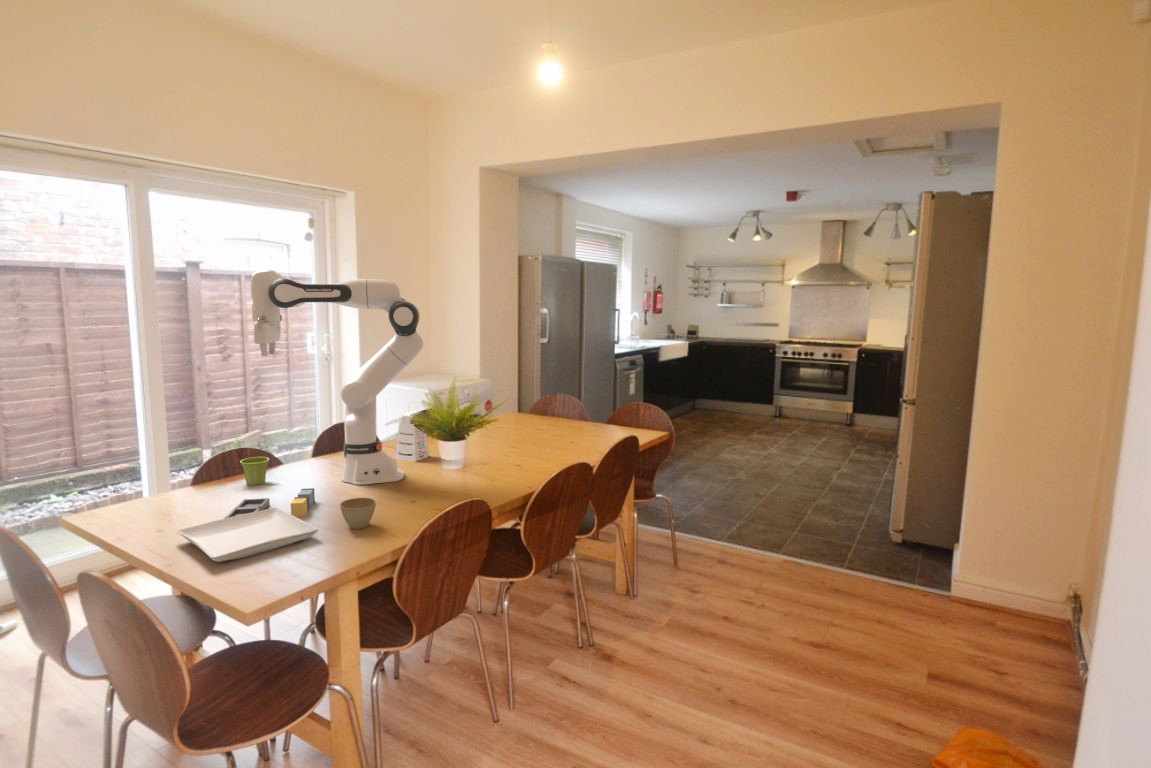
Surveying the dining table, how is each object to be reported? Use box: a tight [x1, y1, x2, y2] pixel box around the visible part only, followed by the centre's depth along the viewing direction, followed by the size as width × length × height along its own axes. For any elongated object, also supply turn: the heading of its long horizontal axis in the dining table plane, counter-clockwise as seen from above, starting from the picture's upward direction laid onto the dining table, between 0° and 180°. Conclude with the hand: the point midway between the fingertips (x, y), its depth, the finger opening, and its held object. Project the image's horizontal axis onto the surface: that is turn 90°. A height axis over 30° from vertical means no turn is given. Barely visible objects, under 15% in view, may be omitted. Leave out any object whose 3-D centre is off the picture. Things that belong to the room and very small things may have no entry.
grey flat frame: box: [223, 497, 270, 519], centre depth 187 cm, size 8×18×2 cm, turn 12°
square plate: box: [176, 507, 319, 563], centre depth 166 cm, size 27×27×4 cm
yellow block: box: [290, 496, 310, 518], centre depth 188 cm, size 4×6×5 cm, turn 12°
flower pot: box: [339, 497, 377, 530], centre depth 178 cm, size 10×10×7 cm
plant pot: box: [239, 456, 270, 486], centre depth 220 cm, size 9×9×9 cm
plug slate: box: [297, 487, 316, 509], centre depth 197 cm, size 4×6×5 cm, turn 12°
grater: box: [394, 410, 431, 463], centre depth 258 cm, size 10×10×20 cm
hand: (268, 355), depth 215 cm, fingers open, 8 cm apart
